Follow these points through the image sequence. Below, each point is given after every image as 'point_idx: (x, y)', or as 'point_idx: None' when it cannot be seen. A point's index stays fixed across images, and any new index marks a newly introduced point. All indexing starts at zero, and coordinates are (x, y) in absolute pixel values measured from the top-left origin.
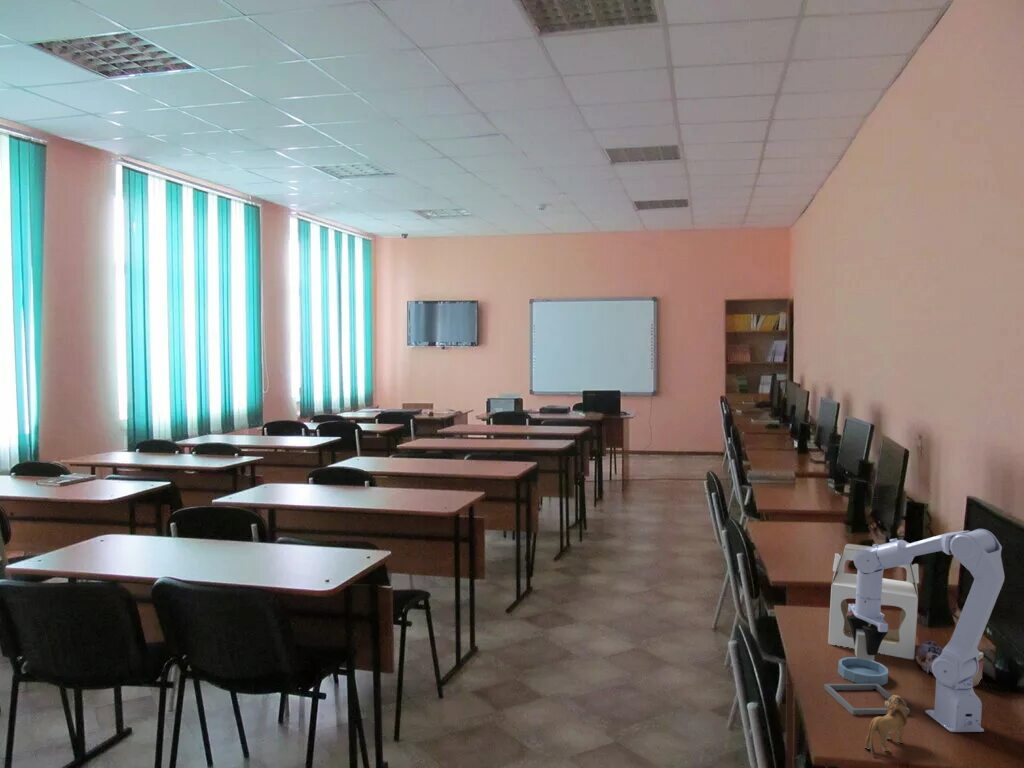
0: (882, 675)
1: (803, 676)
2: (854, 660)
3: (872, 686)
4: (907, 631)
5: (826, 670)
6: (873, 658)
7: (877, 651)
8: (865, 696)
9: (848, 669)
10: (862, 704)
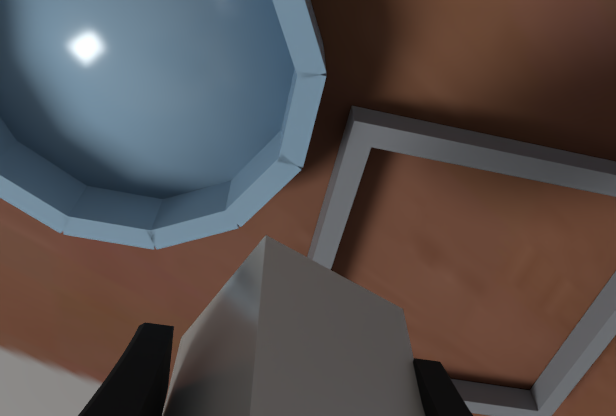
0: (321, 57)
1: None
2: None
3: (363, 165)
4: None
5: (35, 227)
6: (401, 330)
7: (461, 398)
8: (417, 246)
9: (165, 230)
10: (482, 314)
